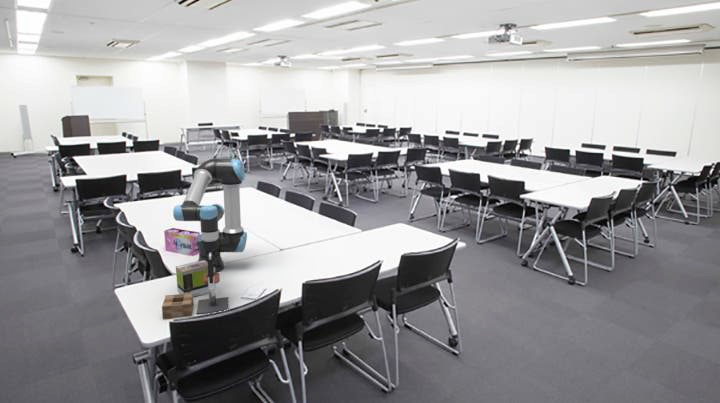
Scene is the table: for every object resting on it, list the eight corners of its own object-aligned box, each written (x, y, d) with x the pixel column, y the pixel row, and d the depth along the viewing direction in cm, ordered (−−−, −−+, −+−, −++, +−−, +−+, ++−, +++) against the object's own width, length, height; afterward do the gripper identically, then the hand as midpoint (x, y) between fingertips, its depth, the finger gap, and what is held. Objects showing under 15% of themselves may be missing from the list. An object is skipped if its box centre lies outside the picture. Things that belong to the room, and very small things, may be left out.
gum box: (203, 252, 273) (202, 232, 270) (194, 256, 266) (193, 236, 263) (174, 247, 281) (173, 227, 278) (165, 250, 274) (163, 230, 271)
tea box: (206, 285, 225) (205, 259, 222) (214, 291, 218) (212, 264, 214) (177, 292, 215) (175, 265, 212) (184, 299, 208) (182, 271, 205)
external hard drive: (265, 291, 222) (256, 301, 210) (251, 289, 223) (240, 299, 211) (265, 288, 222) (256, 298, 210) (251, 286, 223) (240, 296, 211)
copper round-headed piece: (220, 300, 207) (219, 271, 203) (220, 307, 200) (219, 277, 197) (205, 302, 204) (204, 273, 201) (205, 308, 198) (203, 279, 195)
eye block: (166, 307, 200) (165, 295, 199) (193, 304, 203) (193, 292, 202) (162, 319, 189) (161, 306, 187) (191, 316, 192) (190, 304, 191)
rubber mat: (198, 301, 207) (198, 299, 207) (228, 298, 211) (228, 296, 211) (196, 314, 194) (196, 313, 194) (228, 311, 198) (228, 309, 198)
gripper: (202, 232, 204) (204, 275, 209) (199, 247, 183) (202, 295, 188) (219, 231, 206) (220, 274, 211) (218, 246, 186) (220, 293, 191)
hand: (212, 284), depth 200 cm, fingers open, 10 cm apart
